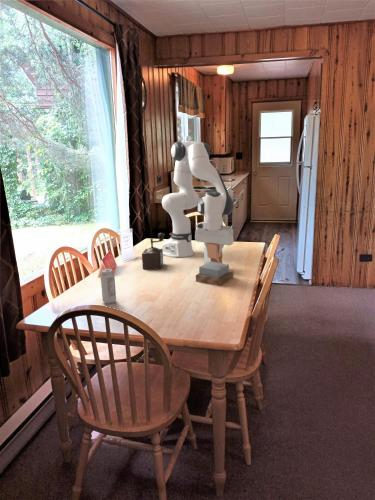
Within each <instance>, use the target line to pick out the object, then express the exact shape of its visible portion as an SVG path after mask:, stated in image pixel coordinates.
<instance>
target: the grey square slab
mask: <svg viewBox="0 0 375 500" xmlns="http://www.w3.org/2000/svg"><path fill="white" fill-rule="evenodd" d="M198 268H199V269H198V270H199V271H198V272H199V273H198V274H200V275H205V276H210V277H215V278H219V277H221V276H223V275H225V274H226V273H228V272H229V271H230V264H226V263H223V262H222V263H217V262H211V261H210V262H208V263H206V264H204V263H203V264H202V265H199V267H198Z"/></svg>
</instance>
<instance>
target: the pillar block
mask: <svg viewBox="0 0 375 500" xmlns="http://www.w3.org/2000/svg"><path fill="white" fill-rule="evenodd" d="M220 247H221V246H220V244H213V243H208V244H207V256H208V258H215V259H217V258H219V257H220V256H221V253H218V249H220Z"/></svg>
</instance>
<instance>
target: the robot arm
mask: <svg viewBox="0 0 375 500" xmlns="http://www.w3.org/2000/svg"><path fill="white" fill-rule="evenodd" d="M170 154H171V157H172V159H173V160H174V161H175V162H174V163H175V165H174V171H173V172H174V173H173V182H174V184H175V185H176V186H177V187H179V188H178V189H179V192H171V193H168V194H165V195H164V196H163V197H162V199H161V205H162V209H164V210H165V212H167V213H168V214H169V216H170V218H171V221H172V223H171V224H172V232H170V233H169V236H170V238H168V239H167V240H166V241H164V243H163V244H162V248H161V249H163V256H166V257H170V258H174V259H175V258H176V259H177V258H185V257H191V256H193V255H194V254H195V253H194V249H193V246H192V245H193V244H192V230H191V219H190V218H189V217H188V216H187V215H185V213H184V211H185V210H191V209H194V208H197V212H198V213H199V214H200V215H201V216H205V217H204V220H203V221H201V222H198V223H196V224H195V228H196V229H195V231H194V233H195V234H194V240H195V241H196V242H197V243H204V247H206V248H207V244H208V243H213V244H220V246H221V247H220V249H218V253H222V254H223V249H224V247H225V246H232V245H233V244H234V241H235V240H234V229H233V228H232V227H231V226H230V225H228V226H227V225H224V218H223V216H228V215H230V214H231V213H232V212H233V210H234V206H235V205H234V200H233V198H232V197H231V195H230V193H229V192H228V190H227V187H226V185H225V182H224V179H223V177H222V175H221V173H220V171H219V170H218V169H217V168H215V167H214V166H213V165H212V163H211V161H210V155H211V148H210V145H209V144H208V143H206V142H203V141H191V140H190V141H176V142H174V143H173V144H172V145H171V150H170ZM193 176H194V177H195V178H196V179H198V180H202V181H206V182H209V183H211V184H213V186H214V187H215V191H214V190H213V191H212V190H211V191H207V192H205V196H203V197H200V195H199V194H198V192H197V191H196V190H195V189H194V184H193V179H194V178H193Z"/></svg>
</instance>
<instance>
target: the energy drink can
mask: <svg viewBox="0 0 375 500" xmlns="http://www.w3.org/2000/svg"><path fill="white" fill-rule="evenodd" d="M114 272H115V271H114V270H113V269H112V268H104V269H102V270H101V272H100V286H101V296H102V302H103V303H104V302H105V303H112V304H114V303H116V301H117V294H116V293H117V292H116V291H117V289H116V279H115V273H114ZM105 303H104V304H105Z"/></svg>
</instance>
